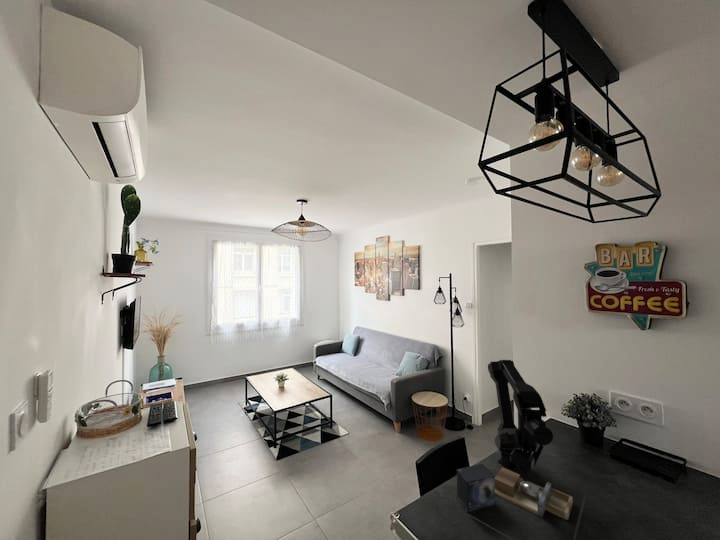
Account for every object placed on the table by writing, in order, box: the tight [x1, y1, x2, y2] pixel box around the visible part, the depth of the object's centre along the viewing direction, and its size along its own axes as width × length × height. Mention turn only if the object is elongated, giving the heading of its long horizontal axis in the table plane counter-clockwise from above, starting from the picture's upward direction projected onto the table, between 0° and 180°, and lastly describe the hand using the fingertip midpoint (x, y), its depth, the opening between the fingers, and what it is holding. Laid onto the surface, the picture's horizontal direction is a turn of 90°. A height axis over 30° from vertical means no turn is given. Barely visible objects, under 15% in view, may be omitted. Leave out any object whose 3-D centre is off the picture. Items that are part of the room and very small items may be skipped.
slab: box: [494, 466, 521, 497], centre depth 103 cm, size 8×6×4 cm
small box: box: [456, 463, 496, 514], centre depth 97 cm, size 11×6×10 cm, turn 105°
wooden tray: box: [495, 477, 574, 521], centre depth 98 cm, size 13×22×4 cm, turn 46°
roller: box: [520, 480, 540, 500], centre depth 99 cm, size 4×5×4 cm
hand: (528, 473), depth 98 cm, fingers open, 9 cm apart
